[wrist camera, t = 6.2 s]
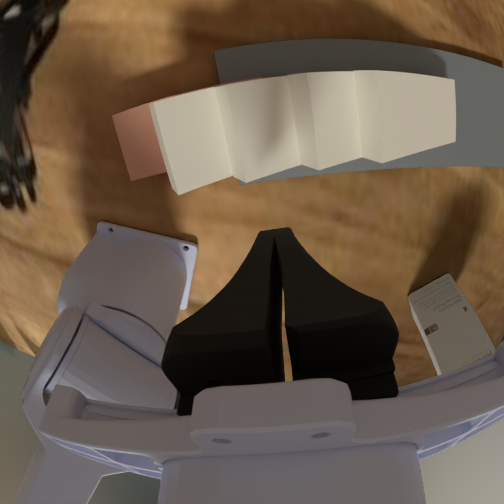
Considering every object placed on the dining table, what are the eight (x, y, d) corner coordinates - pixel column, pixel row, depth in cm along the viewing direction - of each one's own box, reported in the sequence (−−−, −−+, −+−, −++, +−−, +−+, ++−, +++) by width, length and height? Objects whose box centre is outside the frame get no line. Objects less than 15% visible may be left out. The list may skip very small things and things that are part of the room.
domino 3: (403, 137, 18) (300, 164, 15) (399, 74, 15) (287, 74, 12) (420, 141, 17) (318, 170, 14) (417, 75, 14) (306, 72, 11)
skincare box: (448, 270, 26) (502, 352, 16) (451, 293, 28) (496, 370, 18) (404, 296, 28) (446, 387, 18) (410, 317, 30) (447, 401, 20)
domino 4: (439, 137, 17) (360, 157, 15) (437, 77, 15) (353, 70, 12) (455, 141, 16) (382, 163, 13) (454, 79, 13) (376, 70, 11)
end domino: (271, 146, 19) (139, 173, 20) (260, 77, 16) (121, 112, 17) (273, 152, 17) (131, 181, 18) (261, 77, 15) (111, 115, 16)
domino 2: (358, 139, 18) (233, 176, 15) (352, 72, 15) (213, 87, 12) (375, 143, 17) (246, 182, 14) (370, 72, 14) (226, 84, 11)
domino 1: (312, 143, 18) (171, 188, 15) (302, 74, 16) (148, 104, 13) (327, 147, 17) (178, 195, 14) (318, 73, 14) (153, 102, 11)
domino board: (240, 181, 21) (239, 185, 20) (215, 52, 16) (213, 50, 15) (500, 164, 19) (505, 167, 18) (502, 68, 13) (507, 69, 13)
